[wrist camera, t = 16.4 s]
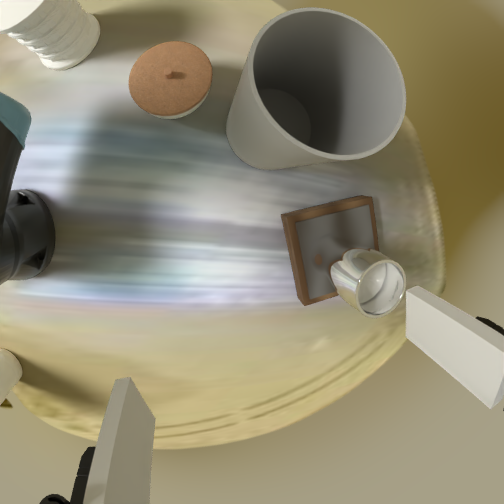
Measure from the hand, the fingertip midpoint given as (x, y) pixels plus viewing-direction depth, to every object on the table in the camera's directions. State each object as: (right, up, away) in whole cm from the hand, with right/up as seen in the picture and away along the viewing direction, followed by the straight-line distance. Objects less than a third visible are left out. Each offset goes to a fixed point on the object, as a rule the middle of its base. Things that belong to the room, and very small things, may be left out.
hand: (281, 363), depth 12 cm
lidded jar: (-13, +28, +27) cm, 41 cm away
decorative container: (-32, +40, +21) cm, 55 cm away
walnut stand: (+11, +6, +35) cm, 37 cm away
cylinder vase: (+1, +23, +30) cm, 38 cm away
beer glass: (+10, +4, +31) cm, 33 cm away
